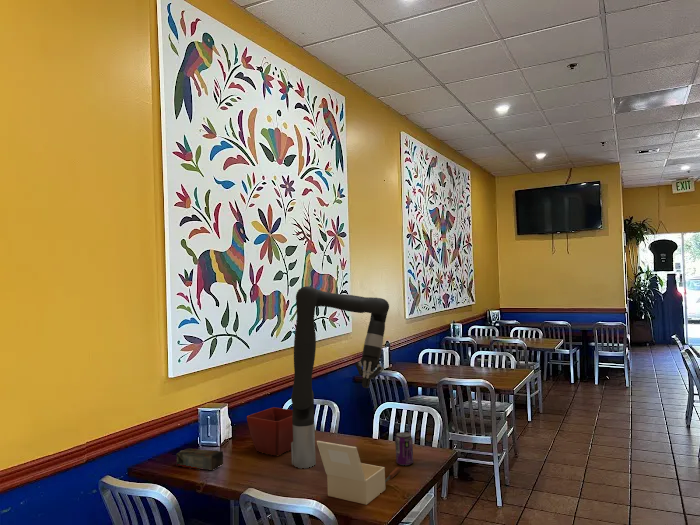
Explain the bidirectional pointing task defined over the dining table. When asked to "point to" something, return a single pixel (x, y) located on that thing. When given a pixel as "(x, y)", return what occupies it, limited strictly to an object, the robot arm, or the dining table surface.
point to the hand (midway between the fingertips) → (365, 387)
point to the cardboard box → (358, 485)
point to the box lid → (341, 460)
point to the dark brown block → (200, 458)
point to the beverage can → (404, 448)
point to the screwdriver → (393, 474)
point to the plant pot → (271, 430)
